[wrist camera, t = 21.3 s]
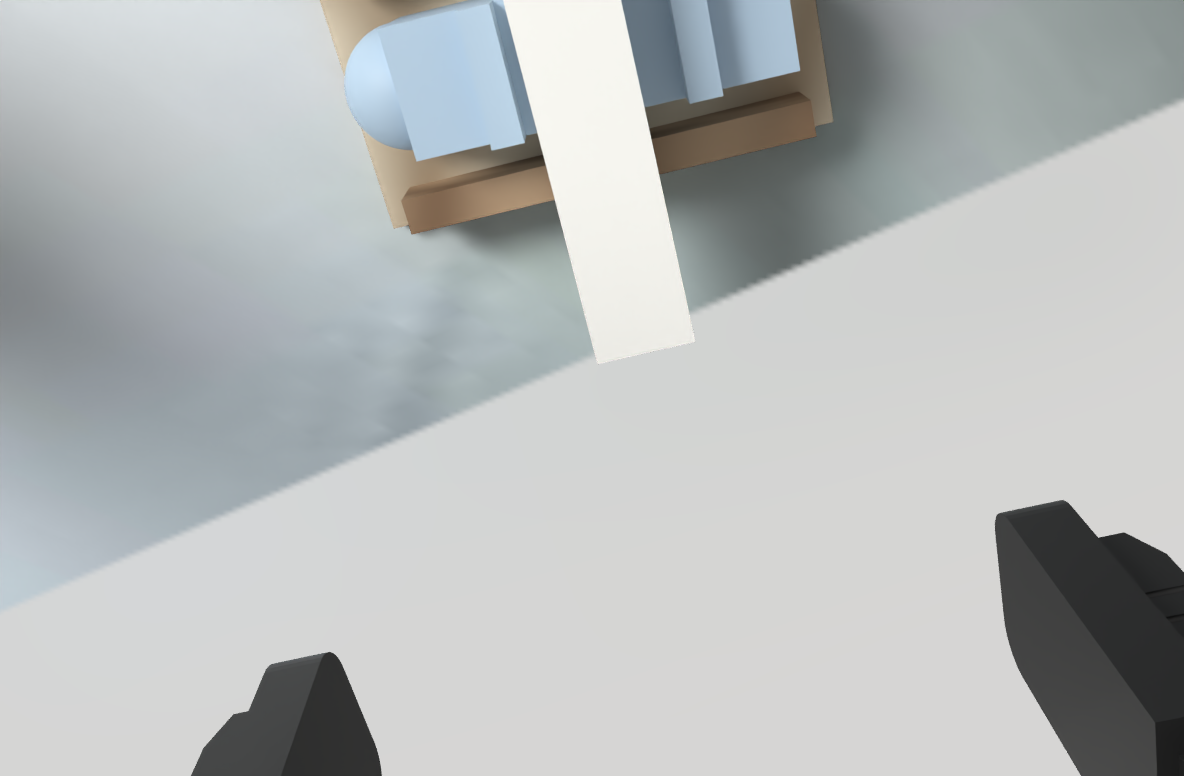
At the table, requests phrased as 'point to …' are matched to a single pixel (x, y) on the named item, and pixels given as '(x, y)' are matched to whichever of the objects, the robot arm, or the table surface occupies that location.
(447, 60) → the light blue stepped block
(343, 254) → the table surface
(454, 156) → the jig
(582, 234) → the white rectangular bar
